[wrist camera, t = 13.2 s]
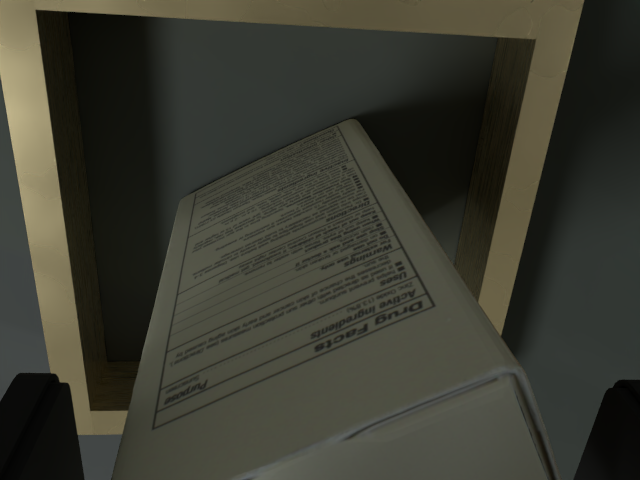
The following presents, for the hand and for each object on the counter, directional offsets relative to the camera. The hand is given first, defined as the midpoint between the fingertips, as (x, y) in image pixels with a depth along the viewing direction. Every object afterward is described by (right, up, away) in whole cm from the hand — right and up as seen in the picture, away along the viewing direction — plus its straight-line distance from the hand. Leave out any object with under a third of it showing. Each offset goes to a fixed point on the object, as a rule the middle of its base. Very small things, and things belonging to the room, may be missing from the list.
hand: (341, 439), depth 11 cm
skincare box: (-1, +5, +9) cm, 10 cm away
